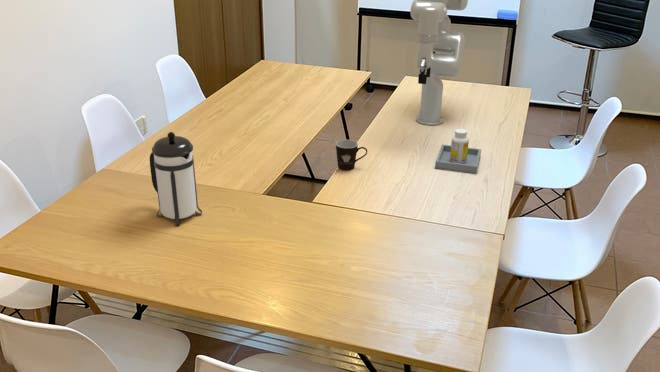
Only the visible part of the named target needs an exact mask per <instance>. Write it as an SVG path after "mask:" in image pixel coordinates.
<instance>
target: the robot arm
mask: <svg viewBox="0 0 660 372" xmlns="http://www.w3.org/2000/svg"><path fill="white" fill-rule="evenodd" d="M468 2H469V0H413V1H412V3H411V6H410V9H409V10H410V11H409V12H410V17H411V19H412V20H413V21H414V20H415V21H418V28H417V29H418V31H417V32H418V33H417V42H418V43H419V44H418V52H417V62H416V68H419V70H418V79H417V84H419V85H421V96H420V108H419V114H418V115H417V116H416V118H415V121H416V122H417V123H419V124H421V125H426V126H438V125H439V126H440V125H441V124H443V123H444V118H443V117H442V116H441V113H442V105H443V104H442V101H443V93H444V92H443V91H444V83H443V80H442V78H441V77H449V78H451V77H453V78H456V77H458V76H459V75H460V73H461V70H462V66H463V57H464V53H465V51H464V50H465V44H466V42H465V41H466V40H465V39H466V38H465V36H464V33H462V32H459V31H451V24H452V23H451V18H449V15H448V11H465V9H466V8H467V6H468ZM434 52H435V53H434Z"/></svg>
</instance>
